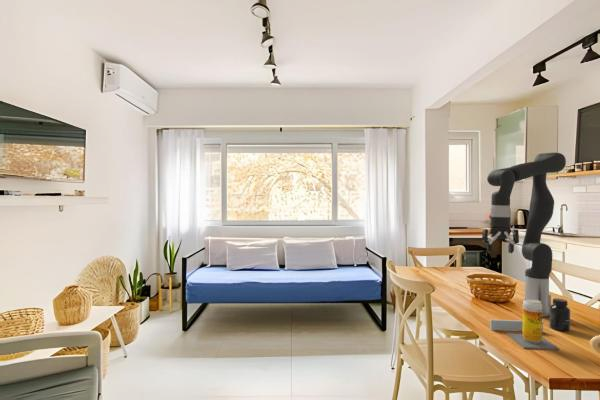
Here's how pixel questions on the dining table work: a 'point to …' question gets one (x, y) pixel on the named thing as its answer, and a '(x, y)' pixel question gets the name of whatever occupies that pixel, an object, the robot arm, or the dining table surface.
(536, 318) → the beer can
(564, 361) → the dining table surface
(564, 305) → the supplement bottle
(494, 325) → the acrylic wall
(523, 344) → the slate coaster
